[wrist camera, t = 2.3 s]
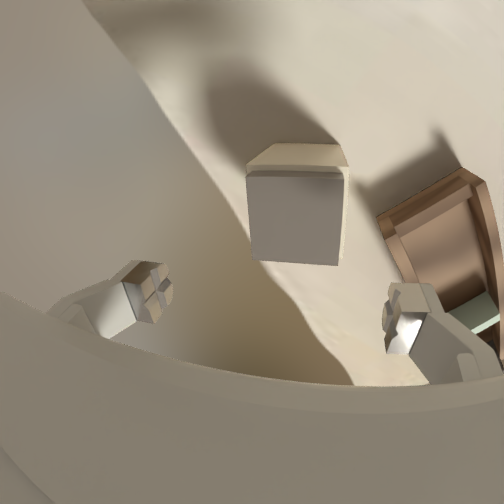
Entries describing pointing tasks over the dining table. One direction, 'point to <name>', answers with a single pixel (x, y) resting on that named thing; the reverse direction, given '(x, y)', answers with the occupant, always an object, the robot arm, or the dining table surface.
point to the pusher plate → (477, 313)
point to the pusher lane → (451, 245)
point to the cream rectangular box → (298, 203)
